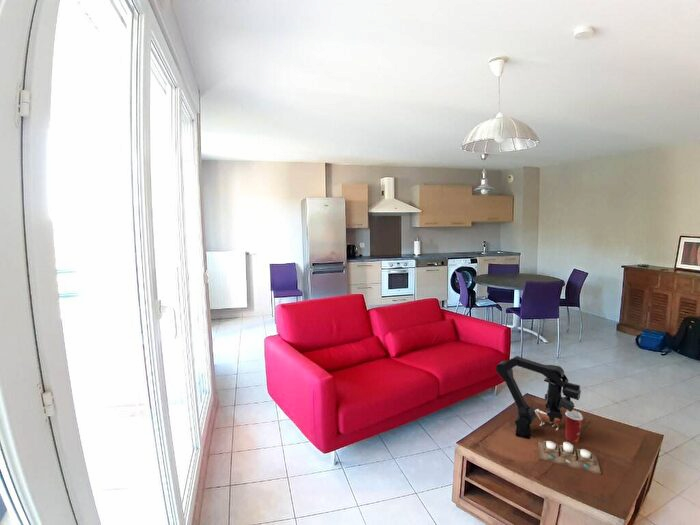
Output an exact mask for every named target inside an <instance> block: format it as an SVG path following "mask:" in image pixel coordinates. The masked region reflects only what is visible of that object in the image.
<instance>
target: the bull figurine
mask: <svg viewBox="0 0 700 525" xmlns="http://www.w3.org/2000/svg"><path fill="white" fill-rule="evenodd" d="M534 411H535V412H536V414H535V415H536V416H537V417H538V419H539V420H540V421H541V422H540V424H539V427H542V426H543V425H545V424H546V422H547V423H549V424H552V423H553V425H551V427H552V428H553V427H556V429H555V431H558V430H559V428H560V423H561V422H562V421H563V418H562V419H558V418H555V419H554V421H553V422H550V419H549V416H547V412H544V411H543V410H542V409H539V408H537V409H535V410H534Z"/></svg>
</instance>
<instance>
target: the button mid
mask: <svg viewBox="0 0 700 525" xmlns="http://www.w3.org/2000/svg"><path fill="white" fill-rule="evenodd" d="M562 445H563V452H566V453H570V454H573V448H574V445H573V444H572V442H570V441H563V443H562Z"/></svg>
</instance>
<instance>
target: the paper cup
mask: <svg viewBox="0 0 700 525" xmlns="http://www.w3.org/2000/svg"><path fill="white" fill-rule="evenodd" d="M564 414H565V439H566V440H568V442H570V443H577V442H579V440H580V435H581V428H582V422H583V420H584V416H583V415H582V413H580V412H579V411H577V410H574V409H573V410H572V411H571V412H570V411H568V410H567V409H566V412H565V413H564Z"/></svg>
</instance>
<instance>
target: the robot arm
mask: <svg viewBox="0 0 700 525" xmlns="http://www.w3.org/2000/svg"><path fill="white" fill-rule="evenodd" d="M515 367H520V368H522V369H526V370H530V371H532V372H534V373H538V374H541V375H543V376H544V377H545V378H544V379H543V381H544V382H545V383H548V385H547V391H546V394H544V401H546V403H545V411H546V413H547V416H549V419H550V422H553V421H554V419H555V418H558V419H562V420H563V416H564V415H563V411H562V410H561V409H562V408H563V409H565V410H566V411H567V410H568V411H570V412H571V411H572V410H574V408H575V404H574V402H573V400H576V401H579V400H580V398H581V393H582V391H581V385H579V384H575V383H572V382H569V379H568V378H567V375H566V374H565V371H564V369H563V367H562V366H560V365H555V364H554V365H553V364H542V363H540V362H536V361H533V360H530V359H526V358H523V357H520V356H519V355H516V356H514V357H512V358H510V359H509V360H502V361H500V362H499V363H498V364H497V365H496V367H495V371H496V373H497V374H498V375H499V377H500V378H501V379H502V380H503V381H504V382H505V384H506V386H507V388H508V390H509V392H510V394H511V396H512V398H513V401H514V402H515V404H516V407H517V412H518V413H517V414H518V417H517V418H516V419H515V420H514V424H515V436H516V437H519V438H522V439H527V440H530V437H531V434H532V426H531V424H533V422H534V421H535V419H536V417H537V414H536V412H535V410H534V406H533V405H529V404H528V403H527V402H526V400H525V398H524V396H523V394H522V392H521V389H520V388H519V386H518V384H517V381H516V380H515V378H514V371H513V368H515ZM562 394H563V396H562ZM571 399H573V400H571Z"/></svg>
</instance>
